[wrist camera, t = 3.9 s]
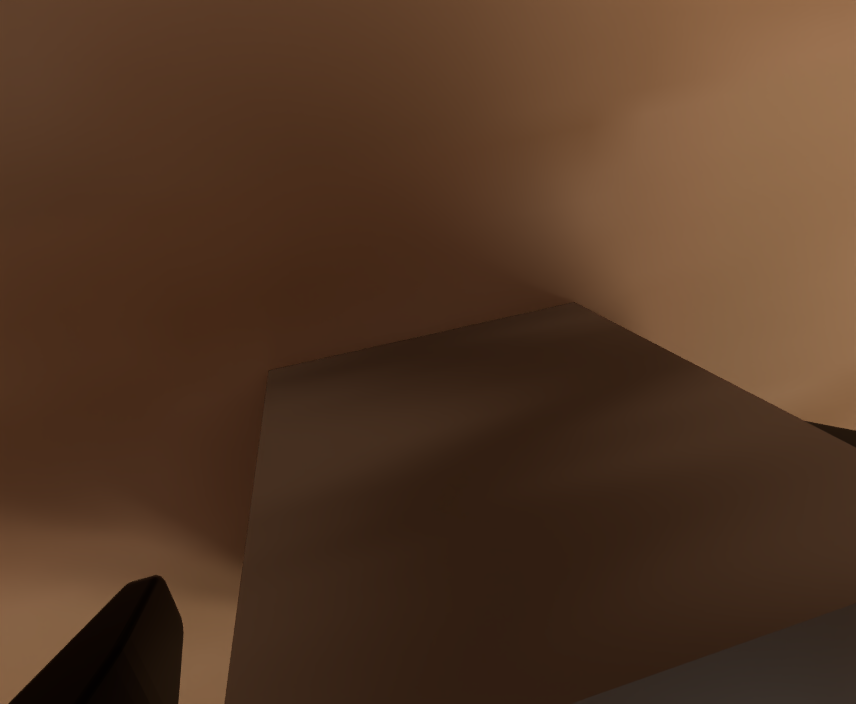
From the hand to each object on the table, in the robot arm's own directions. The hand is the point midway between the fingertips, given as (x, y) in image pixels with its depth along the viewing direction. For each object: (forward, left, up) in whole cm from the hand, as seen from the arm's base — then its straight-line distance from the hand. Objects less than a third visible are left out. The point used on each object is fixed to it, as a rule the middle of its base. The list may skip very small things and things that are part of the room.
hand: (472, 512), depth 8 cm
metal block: (0, 0, -1) cm, 1 cm away
